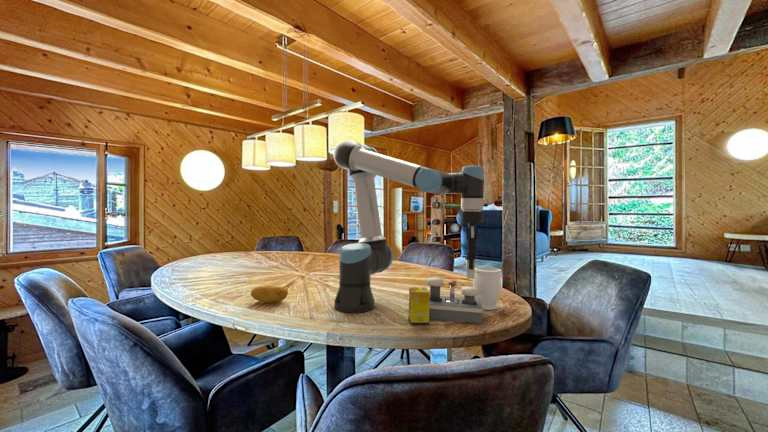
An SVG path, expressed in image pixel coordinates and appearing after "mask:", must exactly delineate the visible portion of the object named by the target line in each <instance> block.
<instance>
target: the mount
mask: <svg viewBox="0 0 768 432" xmlns="http://www.w3.org/2000/svg"><path fill="white" fill-rule="evenodd" d="M449 299H450V295H440V299H439V300H433V299H430V303H429V320H438V319H439V321H449V320H450V321H451V322H460V321H462V322H461V323H474V324H483V312H484V310H483V308H482V304H481V301H480V299H478V298H475V305H470V304H464V297H462V296H454V300H457V301H458V304H457V303H446V300H449Z"/></svg>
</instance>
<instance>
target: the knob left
mask: <svg viewBox="0 0 768 432" xmlns="http://www.w3.org/2000/svg"><path fill="white" fill-rule="evenodd" d="M426 283H427V286H429V292H430V299H433V300H439V299H440V296H441V287H443V286H444V278H442V277H436V276H435V277H434V276H433V277H432V276H431V277H428V278H427V282H426Z"/></svg>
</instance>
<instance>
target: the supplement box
mask: <svg viewBox="0 0 768 432" xmlns="http://www.w3.org/2000/svg"><path fill="white" fill-rule="evenodd" d="M408 292H409V293H408V320H409V322H410V325H411V326H426V325H427V326H428V325H430V319H429V303H430V290H429V289H427V287H425V286H424V287H421V286H420V287H417V286H415V287H408Z"/></svg>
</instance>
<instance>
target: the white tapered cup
mask: <svg viewBox="0 0 768 432" xmlns="http://www.w3.org/2000/svg"><path fill="white" fill-rule="evenodd" d="M501 273H502V269H500V268H497V267H494V266H493V267H492V266H483V265H482V266H480V265H479V266H475V279H472V287H476V288H478V295H477V296H475V298H478V299H480V301H481V304H482V308H483V311H486V310H487V311H495V310H497V309H498V305H497V304H498V302H499V299H500V294H501V288H502V279H501Z"/></svg>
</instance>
